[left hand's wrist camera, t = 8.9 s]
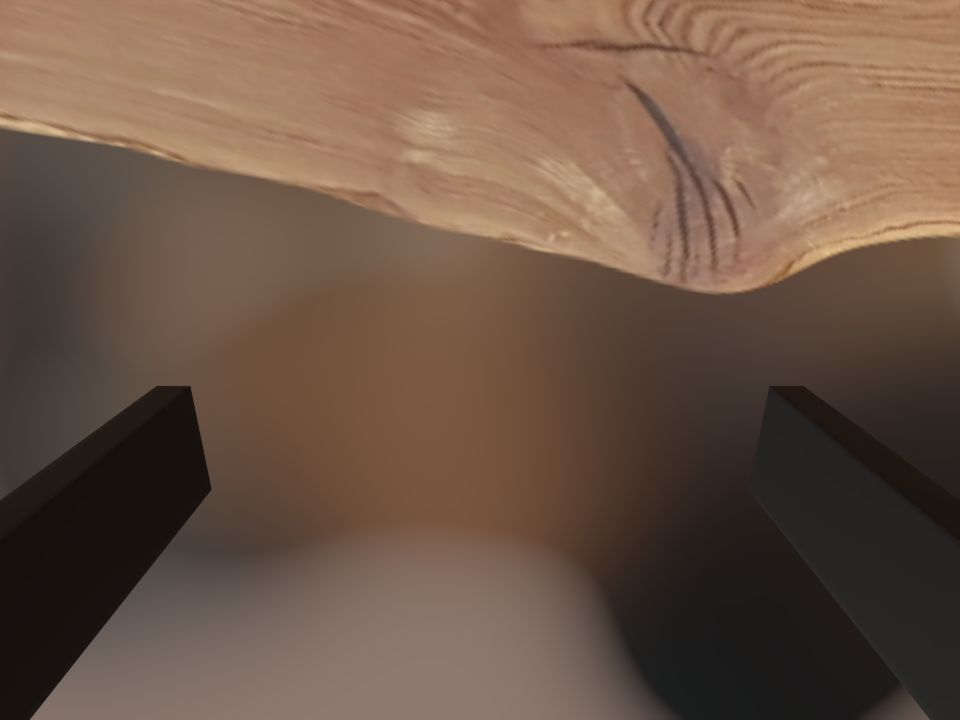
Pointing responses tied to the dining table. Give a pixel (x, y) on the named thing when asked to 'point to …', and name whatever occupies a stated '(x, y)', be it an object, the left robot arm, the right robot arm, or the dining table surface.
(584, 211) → the dining table surface
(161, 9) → the dining table surface
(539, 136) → the dining table surface
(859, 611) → the left robot arm
